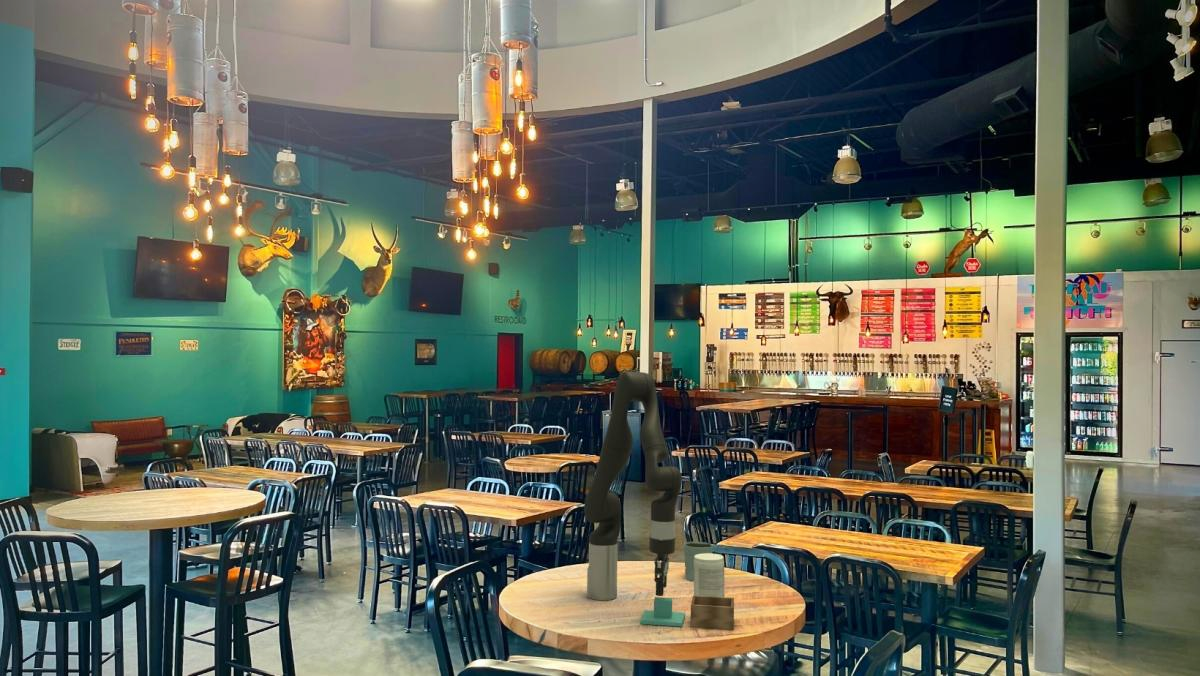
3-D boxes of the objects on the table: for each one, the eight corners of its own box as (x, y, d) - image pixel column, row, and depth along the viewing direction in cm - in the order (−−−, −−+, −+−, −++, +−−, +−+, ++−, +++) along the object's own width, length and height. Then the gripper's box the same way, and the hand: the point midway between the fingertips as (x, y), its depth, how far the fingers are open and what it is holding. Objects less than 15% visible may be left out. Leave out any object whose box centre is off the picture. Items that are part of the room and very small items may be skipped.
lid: (640, 627, 236) (640, 602, 236) (644, 617, 246) (644, 593, 246) (682, 630, 234) (682, 605, 234) (684, 620, 244) (685, 595, 244)
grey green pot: (677, 578, 290) (677, 543, 290) (696, 573, 297) (696, 539, 297) (699, 584, 282) (700, 548, 283) (718, 579, 289) (718, 544, 290)
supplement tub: (730, 604, 259) (731, 557, 259) (707, 609, 254) (707, 561, 254) (710, 597, 267) (710, 551, 267) (687, 601, 262) (687, 555, 262)
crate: (690, 630, 234) (690, 605, 234) (692, 619, 244) (692, 595, 244) (733, 632, 232) (733, 607, 232) (733, 621, 242) (734, 597, 242)
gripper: (652, 529, 248) (651, 583, 248) (646, 540, 234) (645, 597, 234) (677, 531, 247) (676, 585, 246) (673, 541, 233) (671, 599, 232)
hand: (661, 591), depth 240 cm, fingers open, 8 cm apart
